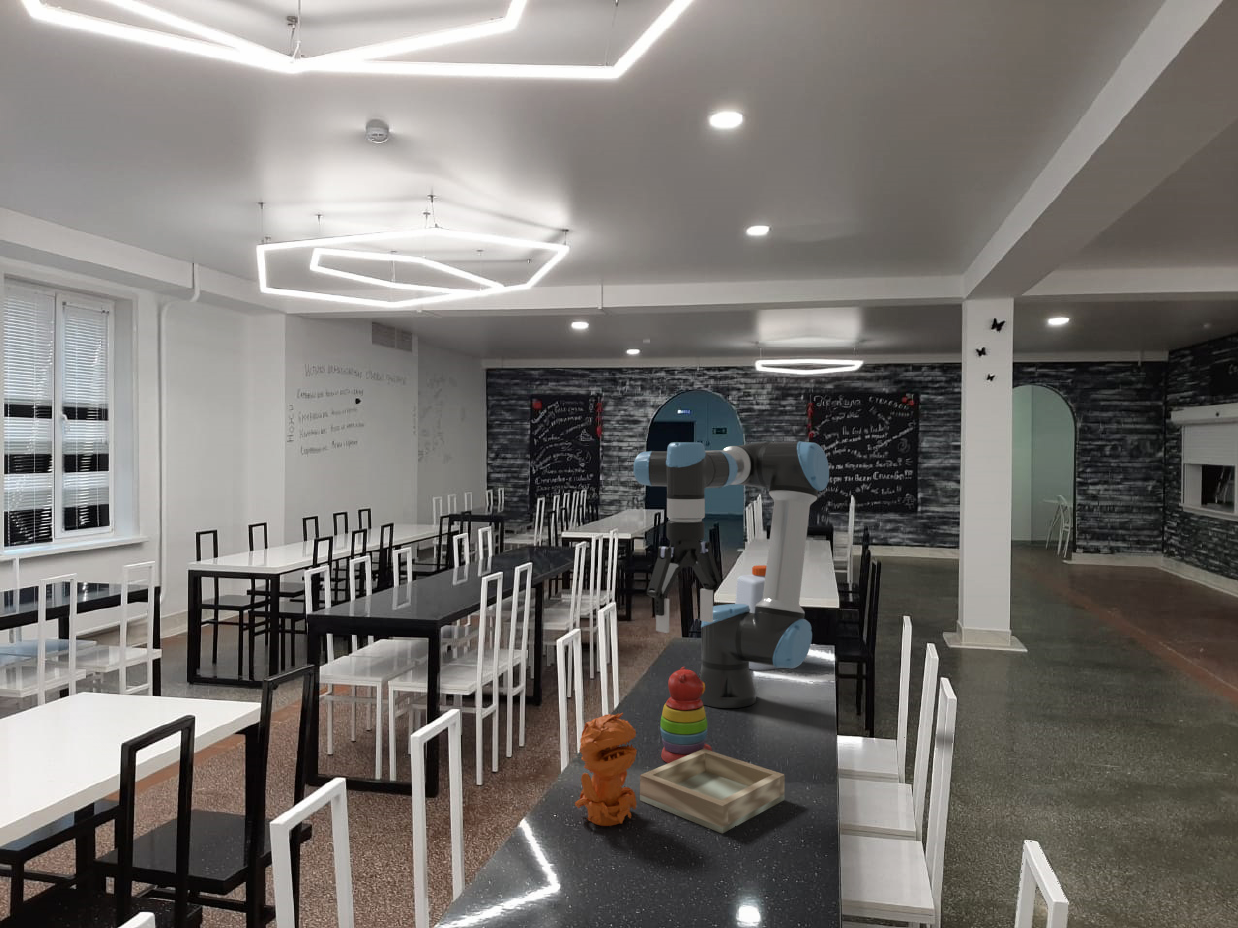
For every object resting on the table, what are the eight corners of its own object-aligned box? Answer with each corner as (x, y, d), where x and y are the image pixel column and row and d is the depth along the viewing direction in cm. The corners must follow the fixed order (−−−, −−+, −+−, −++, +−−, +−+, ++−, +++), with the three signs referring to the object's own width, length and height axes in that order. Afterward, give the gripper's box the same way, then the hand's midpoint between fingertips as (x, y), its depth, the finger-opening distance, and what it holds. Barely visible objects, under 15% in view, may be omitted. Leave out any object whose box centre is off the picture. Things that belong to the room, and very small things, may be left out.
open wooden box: (703, 771, 159) (703, 748, 159) (784, 799, 147) (784, 774, 147) (640, 800, 147) (640, 774, 146) (722, 833, 134) (722, 805, 134)
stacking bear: (708, 770, 160) (708, 678, 160) (656, 766, 162) (656, 675, 162) (713, 750, 171) (713, 664, 170) (664, 746, 173) (664, 661, 172)
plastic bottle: (753, 672, 230) (754, 571, 229) (725, 659, 244) (726, 564, 243) (799, 667, 236) (800, 568, 235) (769, 655, 250) (770, 561, 249)
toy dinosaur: (617, 839, 132) (618, 726, 131) (561, 823, 138) (562, 714, 137) (652, 813, 141) (653, 708, 141) (599, 799, 147) (599, 697, 147)
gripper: (709, 514, 177) (709, 614, 177) (628, 522, 159) (628, 633, 160) (738, 517, 172) (737, 619, 172) (657, 525, 154) (657, 639, 154)
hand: (685, 626), depth 166 cm, fingers open, 13 cm apart
